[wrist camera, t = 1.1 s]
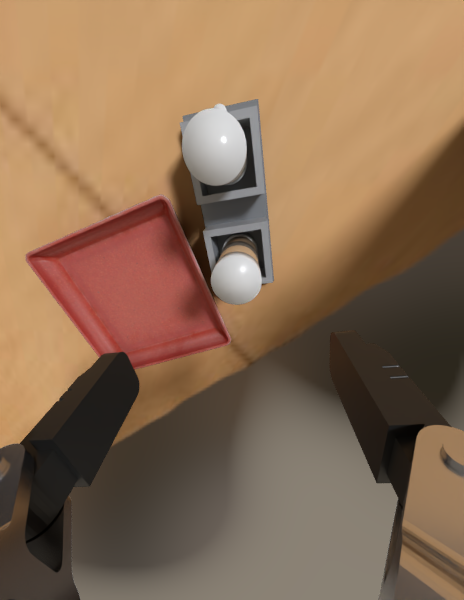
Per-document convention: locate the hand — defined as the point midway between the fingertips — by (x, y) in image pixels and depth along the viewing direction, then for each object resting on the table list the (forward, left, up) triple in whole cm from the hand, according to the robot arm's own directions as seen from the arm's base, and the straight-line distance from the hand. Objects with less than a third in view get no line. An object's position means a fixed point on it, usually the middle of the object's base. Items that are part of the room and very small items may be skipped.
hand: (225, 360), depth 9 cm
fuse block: (0, -4, -19) cm, 19 cm away
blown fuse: (0, 0, -17) cm, 17 cm away
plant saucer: (+13, +4, -19) cm, 24 cm away
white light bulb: (0, -8, -17) cm, 19 cm away
